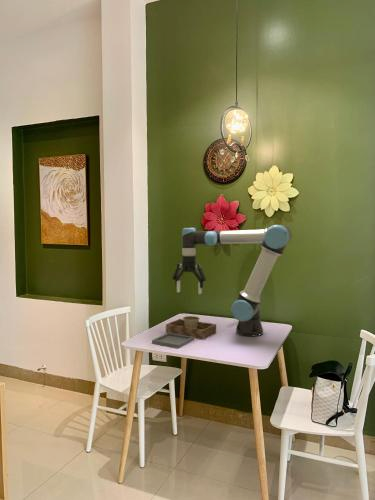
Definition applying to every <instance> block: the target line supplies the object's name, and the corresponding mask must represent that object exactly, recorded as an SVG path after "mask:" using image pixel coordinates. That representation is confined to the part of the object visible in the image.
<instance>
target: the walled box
mask: <svg viewBox="0 0 375 500" xmlns="http://www.w3.org/2000/svg"><path fill="white" fill-rule="evenodd" d="M167 333H174V334H179V335H185V336H191V337H194V339H199V340H202V341H204V340H206V339H208V338H210V337H212V336H214V335H216V334H217V324H216V323H210V322H204V321H198V326H197V329H195V328H189V327H185V324H184V319H183V318H178V319H176V320H173V321H171V322H169V323H166V324H165V334H167Z"/></svg>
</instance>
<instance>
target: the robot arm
mask: <svg viewBox="0 0 375 500" xmlns="http://www.w3.org/2000/svg"><path fill="white" fill-rule="evenodd" d="M292 236H293V235H292V231H291V229H290V228H289V227H288V226H286V225H283V224H274V225H271V226H269V227H267V226H266V228H265V229H264V228H262V229H244V230H243V229H241V230H240V229H239V230H237V229H235V230H232V229H231V230H209V231H206V230H205V231H196V227H184V228H182V231H181V242H182V243H181V246H182V247H181V249H182V251H181V255H182V256H181V257H182V258H181V260H182V261H181V263H177V264H176V269H175V271H174V273H173V276H172V278H171V279H172V280H174V281H175V287H176V293H181V280H180V279H181V278H182V276H184V274H185V273H188V272H189V273H192V274H193V275H194V276H195V278H196V279H197V280H198V281H199V282H198V284H197V285H198V287H197V288H198V289H197V290H198V295H201V294H202V292H203V288H204V283H205V282H206V281H207V277H206V276H205V274H204V272H203V271H204V270H203V269H202V264H200V263H199V264H196V259H197V257H196V254H197V253H196V246H198V245H199V246H215V245H226V244H227V245H229V244H232V245H233V244H261V245H260V247H261V252H260V254H259V255H258V256H259V257H258V258H257V261H256V263H255V265H254V267H253V268H252V269H253V270H252V271H251V274H250V276H249V278H248V280H247V283H246V285H245V287H244V289H243V290H241V291H239V293H238V295H237V298H236V299H235V301H234V302H232V305H231V308H230V311H231V315H232V317H234V319H236V321H238V322H237V324H236V328H235V329H236V330H235V333H237V334H238V335H240V336H244V335H246V336H245V337H253V336H252V335H259V334H262V333H263V334H264V328H263V324H262V321H261V302H262V297H261V293H262V291H263V290H264V287H265V285H266V282H267V280H268V278H269V276H270V274H271V272H272V270H273V267H274V266H275V263H276V262H277V259H278V257H280V256H282V255H283V253H284V251H285V249H286V247H287V245H289V244H290V242H291V241H292ZM263 334H262V335H263ZM259 336H260V335H259Z"/></svg>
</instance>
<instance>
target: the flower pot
mask: <svg viewBox="0 0 375 500" xmlns="http://www.w3.org/2000/svg"><path fill="white" fill-rule="evenodd" d="M182 319H184V324H185V327H189V328H195V329H197V326H198V322H200V321H199V320H200V317H198V316H196V315H195V316H194V315H187V316H183V317H182Z"/></svg>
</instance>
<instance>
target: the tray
mask: <svg viewBox="0 0 375 500" xmlns="http://www.w3.org/2000/svg"><path fill="white" fill-rule="evenodd" d="M193 341H195V338H194V337H191V336H185V335H179V334H174V333H164V334H163V335H161V336H158V337H156V338H153V339H151V344H155V345H159V346H164V347H169V348H175V349H180V348H182V347H184V346H186V345H188V344H190V343H191V342H193Z"/></svg>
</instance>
